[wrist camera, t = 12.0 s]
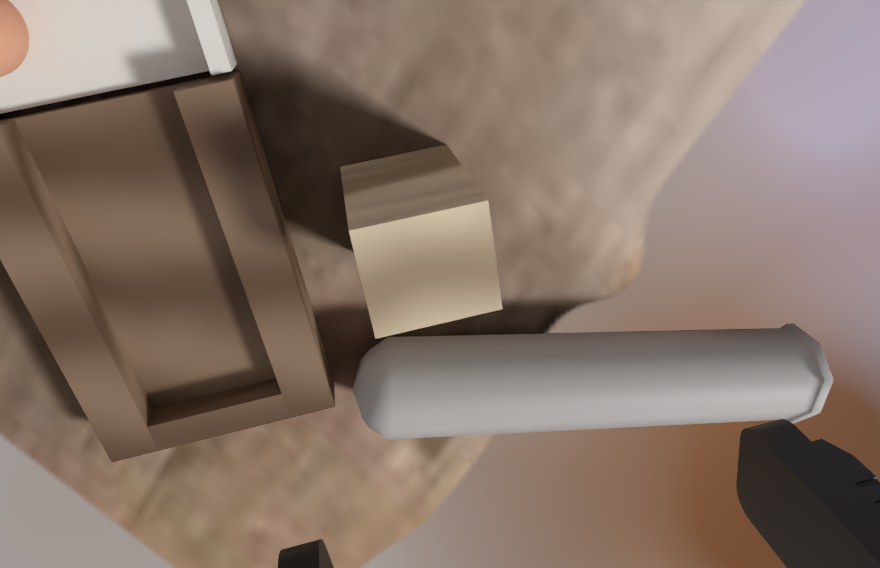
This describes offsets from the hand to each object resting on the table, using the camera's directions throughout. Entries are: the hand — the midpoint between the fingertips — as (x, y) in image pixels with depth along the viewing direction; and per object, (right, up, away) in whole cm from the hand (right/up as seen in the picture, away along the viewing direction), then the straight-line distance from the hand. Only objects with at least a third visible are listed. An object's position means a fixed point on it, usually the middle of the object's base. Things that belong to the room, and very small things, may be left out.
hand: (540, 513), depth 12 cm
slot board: (-14, +5, +18) cm, 23 cm away
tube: (+6, 0, +25) cm, 25 cm away
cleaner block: (-4, +8, +19) cm, 21 cm away
